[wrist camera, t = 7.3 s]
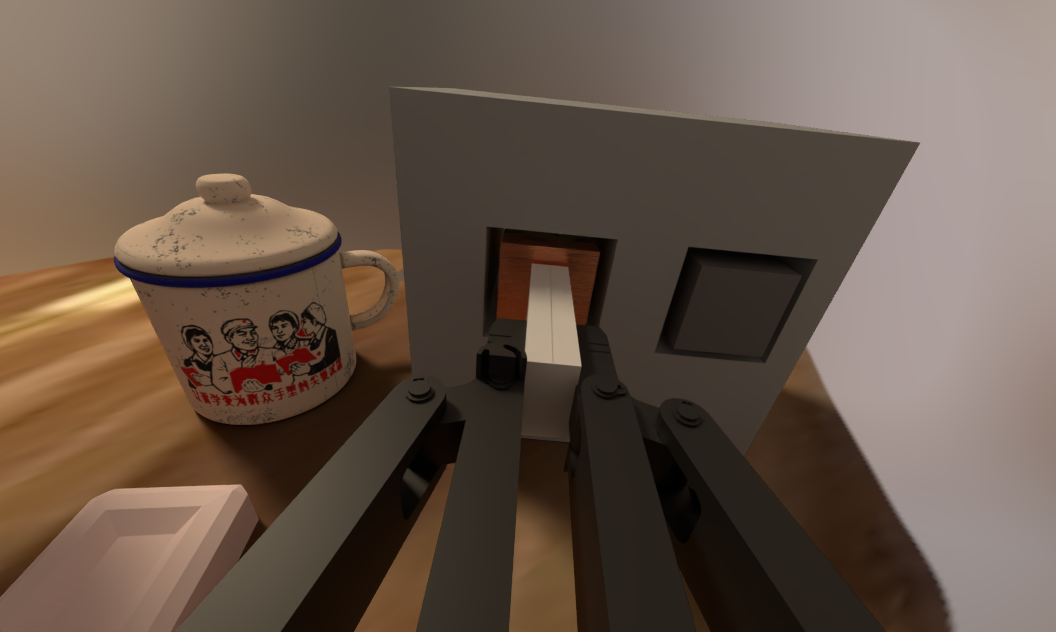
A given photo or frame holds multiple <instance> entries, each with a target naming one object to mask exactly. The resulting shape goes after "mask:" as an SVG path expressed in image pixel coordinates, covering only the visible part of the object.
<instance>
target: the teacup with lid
mask: <svg viewBox="0 0 1056 632" xmlns="http://www.w3.org/2000/svg"><path fill="white" fill-rule="evenodd" d="M196 188H197V191H198V194H199V195H200V197H198V198H195V199H191V200H188V201H186V202H183V203H181V204H180V205H178V206H176V207H175V208H174V209H172V210H171V211H170V212H169V213H167V214H166V215H165V216H162V217H159V218H155V219H152V220H149V221H146V222H144V223H142V224H139V225H137V226H135V227H133V228H131V229H130V230H128V231H127V232H125V233H124V234H123V235H122V236H121V237H120V238H119V239H118V241H117V243H116V245H115V249H114V254H115V257H114V263H115V266H116V268H117V269H118V271H119V272H121V273H122V274H123V275H125V276H127V277H128V278H130V280H131V282H132V284H133V286H134V288H135V290H136V292H137V294H138V296H139V298H140V301H141V303H142V305H143V307H144V309H145V311H146V313H147V315H148V317H149V319H150V321H151V323H152V326H153V328H154V330H155V332H156V334H157V336H158V338H159V340H160V342H161V344H162V346H163V348H164V351H165V353H166V355H167V357H168V359H169V361H170V363H171V365H172V367H173V369H174V371H175V373H176V376H177V378H178V380H179V382H180V384H181V386H182V388H183V390H184V392H185V394H186V396H187V398H188V401H189V403H190V404H191V406H192V407H193V409H194V410H195V411H197V412H198V413H199V414H201V415H202V416H204V417H206V418H208V419H210V420H213V421H216V422H220V423H225V424H233V425H253V424H263V423H269V422H274V421H278V420H282V419H286V418H289V417H292V416H295V415H298V414H301V413H303V412H306V411H308V410H310V409H312V408H314V407H316V406H318V405H320V404H321V403H323V402H325V401H326V400H328V399H329V398H331V397H332V396H333V395H335V394H336V393H337V392H338V391H339V390H340V389H341V388H342V387H343V386H344V385H345V384H346V383H347V382H348V380H349V379H350V378H351V376H352V374H353V372H354V369H355V366H356V351H355V345H354V339H353V334H352V331H353V330H357V329H361V328H364V327H367V326H370V325H372V324H375V323H376V322H378V321H380V320H381V319H382V318H384V317H385V316H386V315H387V314H388V312H389V311H390V310H391V308H392V307H393V305H394V303H395V301H396V298H397V294H398V289H399V280H398V275H397V272H396V270H395V268H394V266H393V265H392V263H391V262H390V261H389V260H388V259H386V258H385V257H384V256H382V255H380V254H378V253H375V252H372V251H365V250H357V251H348V252H341V253H339V251H338V249H339V247H340V246H341V236H340V234H339V232H338V231H337V229H336V227H335V225H334V224H333V223H332V222H331V221H330V220H329V219H328V218H326V217H325V216H323V215H321V214H318V213H316V212H313V211H310V210H306V209H301V208H295V207H289V206H287V205H285V204H283V203H281V202H279V201H277V200H274V199H272V198H269V197H265V196H260V195H254V194H251V188H250V185H249V182H248V181H247V180H246V179H245V178H244V177H242V176H239V175H235V174H212V175H205V176H202V177H200V178H198V180H197V182H196ZM355 266H374V267H377V268H379V269H381V270H382V271H384V273H385V287H384V290H383V293H382V295H381V297H380V299H379V300H378V301H377V303H376V304H375V305H374V306H372V307H371V308H370V309H368V310H366V311H363V312H360V313H357V314H353V315H349V310H348V304H347V298H346V292H345V286H344V280H343V274H342V269H343V268H349V267H355Z"/></svg>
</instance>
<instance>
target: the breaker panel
mask: <svg viewBox="0 0 1056 632" xmlns="http://www.w3.org/2000/svg"><path fill="white" fill-rule="evenodd" d="M389 92H390V105H391V117H392V130H393V142H394V154H395V166H396V179H397V192H398V205H399V215H400V229H401V242H402V255H403V267H404V278H405V279H404V280H405V292H406V304H407V317H408V329H409V342H410V354H411V367H412V377H414V376H421V375H424V376H432V377H434V378H437V379H439V380H441V382H442V383H443V384H444V385H445V388H447V387H454V386H459V385H464V384H466V383H469V382H471V381H472V380H474V379H475V378H476V353H477V352H478V350H479V349H480V348H481V347H482V346H484V345H485V344H487V341H488V337H489V332H490V328H491V325H492V324H493V323H494V322H495V321H496V319H497V301H498V284H499V266H500V249H501V240H502V237H503V233H504V228H508V229H518V230H528V231H538V232H548V233H558V234H568V235H578V236H588V237H595V239H596V242H597V245H598V248H599V251H600V255H599V260H598V265H597V270H596V276H595V281H594V286H593V291H592V296H591V301H590V306H589V311H588V316H587V321H586V325H588V326H599V327H600V328H601V329H602V330H603V332H604V333H605V334H606V335H607V338H608V341H609V346H610V349H611V354H612V357H613V361H614V365H615V369H616V373H617V377H618V380H619V381H621V382H622V383H623V384H624V385H625V386H626V387H627V389H628V391H629V392H630V396H631V397H633V398H635V399H636V400H639V401H641V402H644V403H647V404H650V405H653V406H656V407H659V408H660V405H661V404H662V403H663V402H664V401H665V400H667V399H671V398H681V399H685V400H688V401H692V402H694V403H695V404H697V405H699V406H701V407H702V408H703V409H704V410H705V411H706V412H707V413H709V415H710V416H711V417H712V418H713V420H714V421H715V422H716V423H717V424H718V426H719V427H720V428H721V429H722V431H723V432H724V433H725V434H726V435H727V437H728V438H729V439H730V440H731V442H732V443H733V444H734V445H735V447H736V448H737V449H738V450H739V451H740V453H741V454H742V455H743V456H745V454H746V452H747V451H748V449H749V447H750V445H751V443H752V442H753V440H754V438H755V436H756V434H757V433H758V431H759V429H760V427H761V426H762V424H763V422H764V420H765V418H766V417H767V415H768V413H769V411H770V410H771V408H772V406H773V404H774V402H775V401H776V399H777V397H778V395H779V393H780V392H781V390H782V388H783V386H784V385H785V383H786V381H787V379H788V377H789V376H790V374H791V372H792V370H793V369H794V367H795V365H796V363H797V361H798V360H799V358H800V356H801V354H802V353H803V351H804V349H805V347H806V345H807V343H808V342H809V340H810V338H811V336H812V335H813V333H814V331H815V329H816V327H817V326H818V324H819V322H820V320H821V319H822V317H823V315H824V313H825V311H826V310H827V308H828V306H829V304H830V303H831V301H832V299H833V297H834V295H835V294H836V292H837V290H838V288H839V287H840V285H841V283H842V281H843V279H844V277H845V276H846V274H847V272H848V270H849V269H850V267H851V265H852V263H853V262H854V260H855V258H856V256H857V255H858V252H859V251H860V249H861V247H862V246H863V244H864V242H865V240H866V238H867V237H868V235H869V233H870V231H871V230H872V228H873V226H874V224H875V222H876V221H877V219H878V217H879V215H880V214H881V212H882V210H883V208H884V206H885V205H886V203H887V201H888V199H889V197H890V196H891V194H892V192H893V190H894V188H895V187H896V185H897V183H898V181H899V180H900V178H901V176H902V174H903V173H904V170H905V169H906V167H907V165H908V163H909V162H910V160H911V158H912V157H913V155H914V153H915V151H916V149H917V148H918V146H919V144H920V143H918V142H911V141H904V140H896V139H889V138H881V137H875V136H867V135H860V134H852V133H846V132H839V131H831V130H824V129H817V128H810V127H802V126H795V125H788V124H781V123H773V122H765V121H755V120H746V119H736V118H727V117H718V116H708V115H699V114H689V113H679V112H670V111H660V110H651V109H642V108H633V107H623V106H614V105H613V106H612V105H604V104H595V103H585V102H575V101H566V100H557V99H547V98H538V97H528V96H519V95H509V94H500V93H490V92H480V91H471V90H462V89H453V88H452V89H451V88H417V87H414V88H413V87H389ZM521 438H528V439H538V440H549V441H560V442H570V436H569V430H568V435H567V439H561V438H550V437H539V436H529V435H521Z"/></svg>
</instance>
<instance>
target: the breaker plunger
mask: <svg viewBox="0 0 1056 632" xmlns="http://www.w3.org/2000/svg"><path fill="white" fill-rule="evenodd" d="M599 255H600V251H599V248H598V245H597V242H596V239H595V237H588V236H578V235H568V234H558V233H548V232H538V231H528V230H518V229H508V228H505V230H504V233H503V237H502V240H501V249H500V266H499V284H498V301H497V319H498V318H505V319H516V320H526V316H527V306H528V296H529V286H530V277H531V267H532V263H533V264H543V265H553V266H563V267H568V270H569V277H570V285H571V292H572V300H573V307H574V315H575V322H576V324H578V325H586V321H587V316H588V311H589V306H590V301H591V296H592V291H593V286H594V281H595V276H596V270H597V265H598V260H599ZM497 319H496V320H497Z"/></svg>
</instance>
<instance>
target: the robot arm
mask: <svg viewBox="0 0 1056 632" xmlns="http://www.w3.org/2000/svg"><path fill="white" fill-rule="evenodd" d="M568 430H569V436H570V442H569V447H568V452H567V457H566V461H565V466H564V471H563V472H567V471H568V476H569V493H570V510H571V526H572V543H573V560H574V577H575V594H576V610H577V627H578V632H696V629H695V625H694V621H693V618H692V614H691V611H690V607H689V603H688V600H687V596H686V593H685V589H684V586H683V582H682V578H681V575H680V571H679V568H680V570H681V572H682V574H683V577H684V579H685V581H686V583H687V585H688V587H689V589H690V591H691V593H692V595H693V597H694V599H695V601H696V603H697V605H698V607H699V609H700V611H701V613H702V615H703V617H704V619H705V621H706V623H707V625H708V627H709V629H710V631H711V632H886V631H885V629H884V628H883V627H882V626H881V625H880V623H879V622H878V621H877V620H876V618H875V617H874V616H873V615H872V613H871V612H870V611H869V610H868V609H867V607H866V606H865V605H864V604H863V602H862V601H861V600H860V599H859V598H858V596H857V595H856V594H855V593H854V591H853V590H852V589H851V588H850V586H849V585H848V584H847V583H846V582H845V580H844V579H843V578H842V577H841V575H840V574H839V573H838V572H837V571H836V569H835V568H834V567H833V566H832V564H831V563H830V562H829V561H828V559H827V558H826V557H825V556H824V555H823V553H822V552H821V551H820V550H819V548H818V547H817V546H816V545H815V544H814V542H813V541H812V540H811V539H810V537H809V536H808V535H807V534H806V532H805V531H804V530H803V529H802V528H801V526H800V525H799V524H798V523H797V521H796V520H795V519H794V518H793V516H792V515H791V514H790V513H789V512H788V510H787V509H786V508H785V507H784V505H783V504H782V503H781V502H780V501H779V499H778V498H777V497H776V496H775V494H774V493H773V492H772V491H771V489H770V488H769V487H768V486H767V485H766V483H765V482H764V481H763V480H762V478H761V477H760V476H759V475H758V474H757V472H756V471H755V470H754V469H753V467H752V466H751V465H750V464H749V462H748V461H747V460H746V459H745V458H744V456H743V455H742V454H741V453H740V451H739V450H738V449H737V448H736V447H735V445H734V444H733V443H732V442H731V440H730V439H729V438H728V437H727V435H726V434H725V433H724V432H723V431H722V429H721V428H720V427H719V426H718V424H717V423H716V422H715V421H714V420H713V418H712V417H711V416H710V415H709V413H707V412H706V411H705V410H704V409H703V408H702V407H701V406H699V405H697V404H695V403H694V402H692V401H688V400H685V399H681V398H671V399H667V400H665V401H664V402H663V403H662V404H661V405H660V408H659V407H656V406H653V405H650V404H647V403H644V402H641V401H639V400H636V399H635V398H633V397H631V396H630V392H629V391H628V389H627V387H626V386H625V385H624V384H623V383H622V382H621V381H619V380H618V377H617V373H616V369H615V365H614V361H613V357H612V354H611V349H610V346H609V341H608V338H607V335H606V334H605V333H604V332H603V330H602V329H601V328H600V327H599V326H588V325H578V324H576V322H575V315H574V307H573V300H572V292H571V285H570V277H569V270H568V267H563V266H553V265H543V264H533V263H532V267H531V277H530V286H529V296H528V306H527V316H526V320H516V319H505V318H498V319H497V320H496V321H495V322H494V323H493V324H492V325H491V328H490V332H489V337H488V341H487V344H485V345H484V346H482V347H481V348H480V349H479V350H478V352H477V353H476V378H475V379H474V380H472V381H471V382H469V383H466V384H464V385H459V386H454V387H447V388H445V385H444V384H443V383H442V382H441V380H439V379H437V378H434V377H432V376H424V375H421V376H414V377H410V378H408V379H405V380H403V381H402V382H400V383H399V384H398V385H397V386H396V387H395V388H394V389H393V390H392V391H391V392H390V393H389V394H388V396H387V397H386V398H385V399H384V400H383V401H382V402H381V403H380V404H379V406H378V407H377V408H376V409H375V410H374V411H373V412H372V413H371V414H370V416H369V417H368V418H367V419H366V420H365V421H364V422H363V423H362V424H361V426H360V427H359V428H358V429H357V430H356V431H355V432H354V433H353V434H352V436H351V437H350V438H349V439H348V440H347V441H346V442H345V443H344V444H343V446H342V447H341V448H340V449H339V450H338V451H337V452H336V453H335V454H334V456H333V457H332V458H331V459H330V460H329V461H328V462H327V463H326V464H325V466H324V467H323V468H322V469H321V470H320V471H319V472H318V473H317V474H316V476H315V477H314V478H313V479H312V480H311V481H310V482H309V483H308V484H307V486H306V487H305V488H304V489H303V490H302V491H301V492H300V493H299V494H298V496H297V497H296V498H295V499H294V500H293V501H292V502H291V503H290V504H289V506H288V507H287V508H286V509H285V510H284V511H283V512H282V513H281V514H280V516H279V517H278V518H277V519H276V520H275V521H274V522H273V523H272V524H271V526H270V527H269V528H268V529H267V530H266V531H265V532H264V533H263V534H262V536H261V537H260V538H259V539H258V540H257V541H256V542H255V543H254V544H253V546H252V547H251V548H250V549H249V550H248V551H247V552H246V553H245V554H244V556H243V557H242V558H241V559H240V560H239V561H238V562H237V563H236V564H235V566H234V567H233V568H232V569H231V570H230V571H229V572H228V573H227V574H226V576H225V577H224V578H223V579H222V580H221V581H220V582H219V583H218V584H217V586H216V587H215V588H214V589H213V590H212V591H211V592H210V593H209V594H208V596H207V597H206V598H205V599H204V600H203V601H202V602H201V603H200V604H199V606H198V607H197V608H196V609H195V610H194V611H193V612H192V613H191V614H190V616H189V617H188V618H187V619H186V620H185V621H184V622H183V623H182V624H181V626H180V627H179V628H178V629H177V630H176V631H175V632H354V631H355V629H356V627H357V625H358V623H359V622H360V620H361V618H362V616H363V615H364V613H365V611H366V609H367V607H368V606H369V604H370V602H371V600H372V599H373V597H374V595H375V593H376V591H377V590H378V588H379V586H380V584H381V583H382V581H383V579H384V577H385V575H386V574H387V572H388V570H389V568H390V567H391V565H392V563H393V561H394V559H395V558H396V556H397V554H398V552H399V550H400V549H401V547H402V545H403V543H404V542H405V540H406V538H407V536H408V534H409V533H410V531H411V529H412V527H413V526H414V524H415V522H416V520H417V518H418V517H419V515H420V513H421V511H422V510H423V508H424V506H425V504H426V502H427V501H428V499H429V497H430V495H431V494H432V492H433V490H434V488H435V486H436V485H437V483H438V481H439V479H440V478H441V476H442V474H443V472H444V470H445V469H446V466H447V464H450V463H455V462H456V464H455V469H454V473H453V477H452V481H451V486H450V490H449V494H448V498H447V503H446V507H445V511H444V515H443V520H442V524H441V528H440V532H439V537H438V541H437V545H436V549H435V553H434V558H433V562H432V566H431V570H430V575H429V579H428V583H427V587H426V592H425V596H424V600H423V604H422V609H421V613H420V617H419V621H418V626H417V630H416V632H509V619H510V603H511V588H512V572H513V557H514V541H515V525H516V510H517V494H518V479H519V463H520V448H521V435H529V436H539V437H550V438H561V439H567V435H568ZM678 566H679V568H678Z"/></svg>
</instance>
